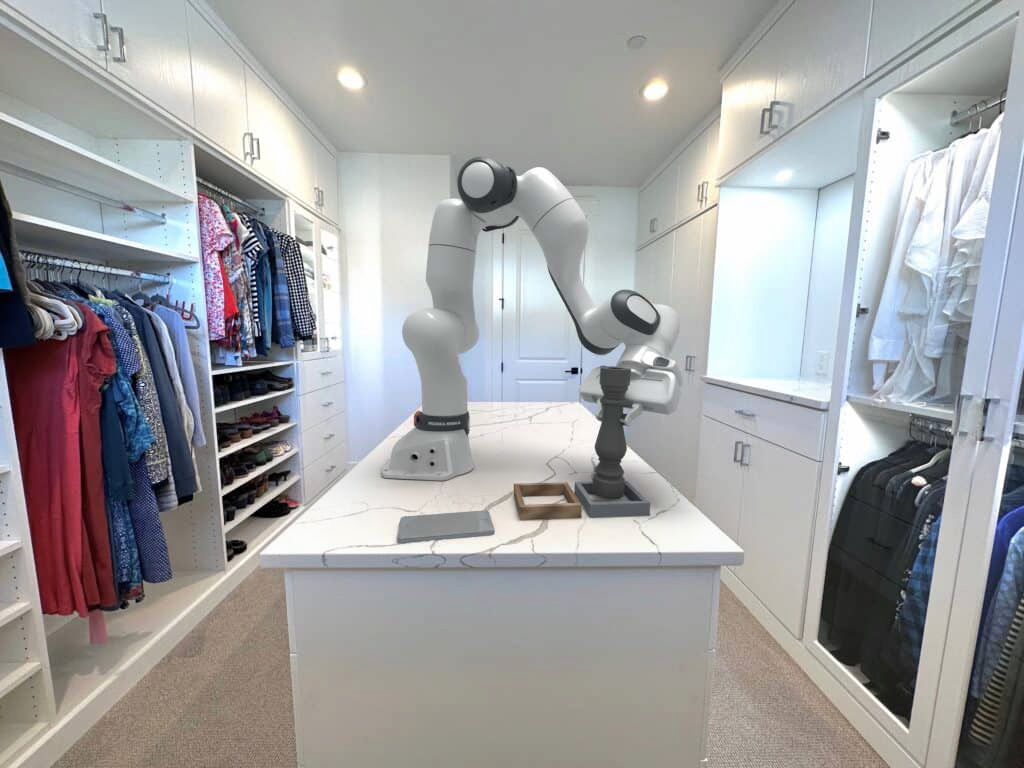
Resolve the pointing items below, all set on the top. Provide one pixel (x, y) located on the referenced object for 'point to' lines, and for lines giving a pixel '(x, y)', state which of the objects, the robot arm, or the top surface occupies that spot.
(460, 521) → the phone
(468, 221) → the robot arm
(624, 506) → the charcoal frame
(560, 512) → the walnut frame
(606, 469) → the candle holder
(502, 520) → the top surface
